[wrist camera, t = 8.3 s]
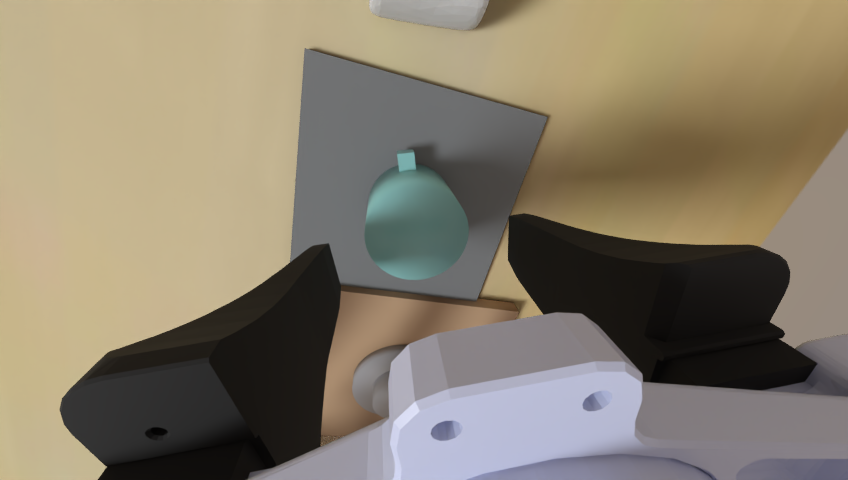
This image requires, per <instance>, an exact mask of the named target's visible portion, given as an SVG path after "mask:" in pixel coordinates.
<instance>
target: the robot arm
mask: <svg viewBox="0 0 848 480" xmlns="http://www.w3.org/2000/svg"><path fill="white" fill-rule="evenodd" d="M508 261H509V263H510V265H511V267H512V269H513V271H514V273H515V275H516V277H517V278H518V280H519V281H520V283H521V284H522V285H523V287H524V288H525V290H526V291H527V293H528V294H529V295H530V297H531V298H532V299H533V301H534V302H535V303H536V305H537V306H538V308H539V309H540V310H541V312H542V313H543V314H544V315H539V316H533V317H527V318H522V319H516V320H510V321H505V322H499V323H493V324H487V325H482V326H476V327H470V328H465V329H459V330H453V331H447V332H442V333H436V334H433V335H431V336H428V337H426V338H423V339H421V340H418V341H415V342H413V343H410V344H408V345H407V346H406V347H405V348H404V350H403V351H402V352H401V353H400V354H399V355H398V356H397V357H396V358H395V359H394V360H393V361H392V362H391V367H390V374H389V381H388V392H389V417H386V418H384V419H382V420H380V421H377V422H375V423H373V424H371V425H368V426H366V427H364V428H362V429H359V430H357V431H355V432H353V433H350V434H348V435H346V436H344V437H341V438H339V439H337V440H335V441H332V442H330V443H328V444H326V445H323V446H321V447H320V442H321V427H322V413H323V402H324V390H325V381H326V372H327V364H328V359H329V353H330V349H331V345H332V340H333V336H334V332H335V327H336V323H337V318H338V314H339V309H340V298H341V284H340V281H339V277H338V274H337V270H336V266H335V263H334V259H333V256H332V252H331V249H330V245H329V243H326V244H320V245H313V246H311V247H310V248H308V249H307V250H305V251H304V252H303V253H301V254H300V255H299V256H298V257H296V258H295V259H294V260H293V261H291V262H290V263H289V264H288V265H286V266H285V267H284V268H283V269H281V270H280V271H279V272H277V273H276V274H274V275H273V276H272V277H270V278H269V279H268V280H266V281H265V282H263V283H262V284H260V285H259V286H257V287H256V288H254V289H253V290H251V291H250V292H248V293H246V294H245V295H243V296H241V297H239V298H238V299H236V300H234V301H232V302H231V303H229V304H227V305H225V306H223V307H221V308H219V309H217V310H215V311H213V312H211V313H209V314H207V315H205V316H203V317H200V318H198V319H196V320H194V321H191V322H189V323H187V324H184V325H182V326H179V327H177V328H175V329H172V330H170V331H167V332H165V333H162V334H159V335H157V336H154V337H151V338H148V339H145V340H142V341H139V342H137V343H134V344H131V345H128V346H125V347H122V348H119V349H116V350H113V351H110V352H108V353H107V354H106V355H105V356H104V357H103V358H102V359H100V360H99V361H98V362H97V363H96V364H95V365H94V366H93V367H92V368H91V369H90V370H89V371H88V372H87V373H86V374H85V375H84V376H83V377H82V378H81V379H80V380H79V381H78V382H77V383H76V384H75V385H74V386H73V387H72V388H71V389H70V390H69V391H68V392H67V393H66V395H65V396H64V397H63V398H62V402H61V406H60V412H61V416H62V419H63V422H64V425H65V426H66V427H67V429H68V430H69V431H70V432H71V434H72V435H73V436H74V437H75V438H76V439H77V440H79V441H80V442H81V443H82V444H83V445H84V446H85V447H86V448H87V449H88V450H89V451H90V452H91V453H92V454H94V455H95V456H96V457H97V458H98V459H99V460H100V461H101V462H102V463H103V464H104V465H105V466H107V468H106V469H105V471H104V472H103V473H102V475H101V476H100V477H99V479H98V480H848V334H842V335H837V336H832V337H827V338H821V339H816V340H811V341H807V342H805V343H803V344H801V345H799V346H798V347H796V348H795V349H794V348H792V347H791V346H789V345H788V344H786V343H785V342H783V341H781V340H780V339H779V338H783V336H784V335H785V333H784V331H783V330H782V329H780V328H779V327H777V326H775V325H774V324H772V323H770V320H771V318H772V316H773V314H774V313H775V311H776V309H777V307H778V305H779V303H780V302H781V300H782V298H783V296H784V294H785V292H786V289H787V287H788V284H789V280H790V270H789V267H788V264H787V261H786V260H784V259H783V258H782V257H781V256H780V255H778V254H775V253H773V252H770V251H768V250H765V249H763V248H761V247H758V246H754V245H690V244H670V243H657V242H648V241H639V240H631V239H624V238H619V237H613V236H608V235H602V234H598V233H593V232H590V231H586V230H582V229H578V228H574V227H571V226H567V225H564V224H561V223H557V222H554V221H551V220H548V219H544V218H541V217H538V216H534V215H530V214H518V215H511V216H509V238H508Z"/></svg>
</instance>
